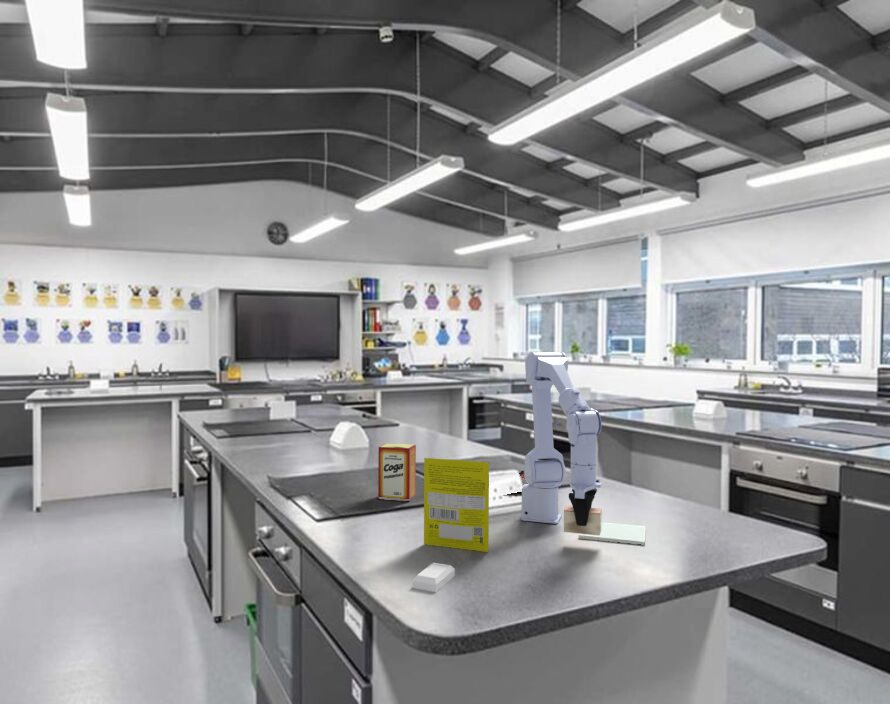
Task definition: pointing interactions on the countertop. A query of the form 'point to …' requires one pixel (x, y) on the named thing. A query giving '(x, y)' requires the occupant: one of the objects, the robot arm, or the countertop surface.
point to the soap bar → (433, 577)
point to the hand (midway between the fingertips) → (582, 522)
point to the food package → (456, 504)
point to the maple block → (592, 523)
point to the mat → (619, 533)
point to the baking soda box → (397, 471)
